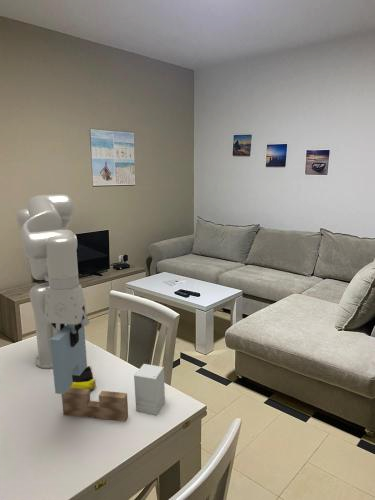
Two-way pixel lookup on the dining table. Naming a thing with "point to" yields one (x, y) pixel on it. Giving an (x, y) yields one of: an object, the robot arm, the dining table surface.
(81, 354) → the slate slotted plate
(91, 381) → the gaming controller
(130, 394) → the dining table surface
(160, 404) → the supplement box
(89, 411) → the walnut slotted plate
